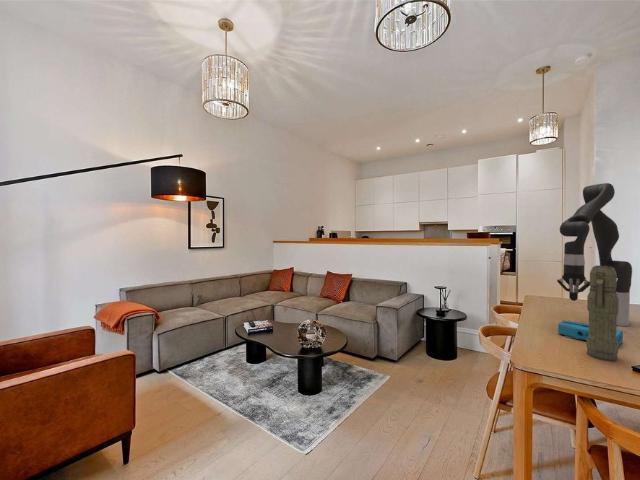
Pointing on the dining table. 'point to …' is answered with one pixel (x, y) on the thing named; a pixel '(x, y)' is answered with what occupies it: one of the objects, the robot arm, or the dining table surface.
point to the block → (581, 330)
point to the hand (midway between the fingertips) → (573, 300)
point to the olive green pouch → (602, 313)
